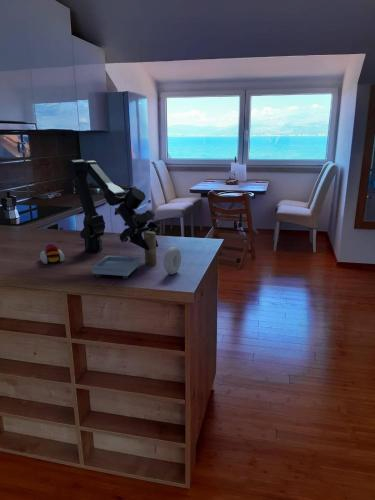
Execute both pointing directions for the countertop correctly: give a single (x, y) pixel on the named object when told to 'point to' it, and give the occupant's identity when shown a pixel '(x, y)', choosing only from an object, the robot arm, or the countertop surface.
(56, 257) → the red yellow rounded shape
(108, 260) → the tray
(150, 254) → the walnut spindle
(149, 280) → the countertop surface
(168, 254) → the donut
